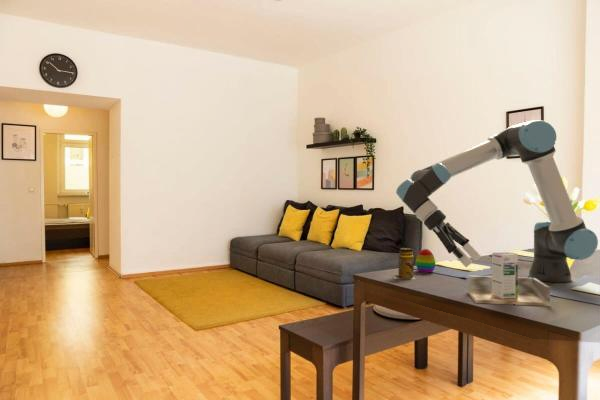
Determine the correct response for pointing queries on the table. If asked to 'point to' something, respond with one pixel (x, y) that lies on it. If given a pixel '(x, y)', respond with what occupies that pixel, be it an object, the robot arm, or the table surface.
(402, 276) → the condiment
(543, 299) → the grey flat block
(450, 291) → the table surface
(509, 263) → the syrup box
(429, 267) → the decorative egg
